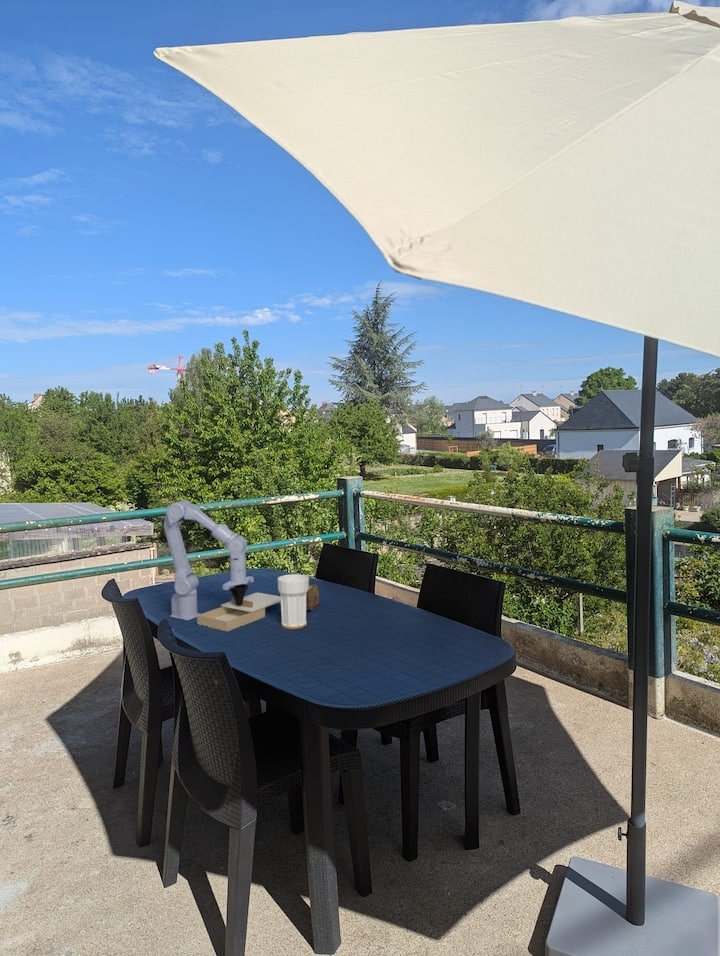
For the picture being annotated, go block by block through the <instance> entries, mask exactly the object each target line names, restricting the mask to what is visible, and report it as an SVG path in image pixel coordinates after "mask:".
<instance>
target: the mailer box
mask: <svg viewBox="0 0 720 956" xmlns="http://www.w3.org/2000/svg"><path fill="white" fill-rule="evenodd" d="M263 618H266V607H265V608H262V609H259V610H257V611H254V612H248V611H243V610H238V609H233V608H228V607H223V606H220V607H218V608H217V607H216V608H215V609H212V610H208V611H206V612H203V613H200V615H197V617H196V622H197V624H199V625H198V626H201V625H204V626H203V627H205V626H208V627H207V628H210V627H211V629H214V628H215V629H214V630H218V629H219V631H223V632H230V631H233V630H235V629H238V628H241V627H242V626H245V625H249V624H251V623H253V622H255V621H258V620H261V619H263ZM240 626H241V627H240Z"/></svg>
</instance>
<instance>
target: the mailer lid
mask: <svg viewBox="0 0 720 956" xmlns="http://www.w3.org/2000/svg"><path fill="white" fill-rule="evenodd" d="M278 603H281V597H280V596H279V595H273V594H270V593H269V594H268V593H263V592H258V591H257V592H254V593H251V594H248V595H246V596H245V595H244V598H243V603H242V605H236V603H235V599H234V597H232V598H230V601H227V602H225V603H222V604H220V607H228V608H233V609H238V610H243V611H248V612H254V611H257V610H259V609H262V608H265V609H266V608H267V607H270V606H272V605H274V604H278Z"/></svg>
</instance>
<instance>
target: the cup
mask: <svg viewBox="0 0 720 956" xmlns="http://www.w3.org/2000/svg"><path fill="white" fill-rule="evenodd" d="M309 586H310V577H309V576H308V575H306V574H299V573H297V574H296V573H295V574H294V573H293V574H285V575H281V576H278V577H277V591H278V592H279V595H280V597H281V602H280V611H281V613H280V614H281V627H282V628H284V629H288V630H296V629H297V630H298V628H299V629H303V628H304V626H305V627H307V624H308V623H307V610H306V592H307V591H308V590H309ZM302 627H303V628H302Z"/></svg>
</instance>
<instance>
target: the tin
mask: <svg viewBox="0 0 720 956" xmlns="http://www.w3.org/2000/svg"><path fill="white" fill-rule="evenodd" d="M319 602H320V589H319V585H318V584H316V583H315V584H309V590H308V591H307V592H306V611H307V610H311V611H312V610H313V608H314V607H315V606H316V605H317V604H318V605H319ZM318 605H317V606H318ZM317 606H316V607H317ZM316 607H315V608H316ZM315 608H314V609H315ZM311 611H310V612H311ZM313 611H314V610H313Z"/></svg>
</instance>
